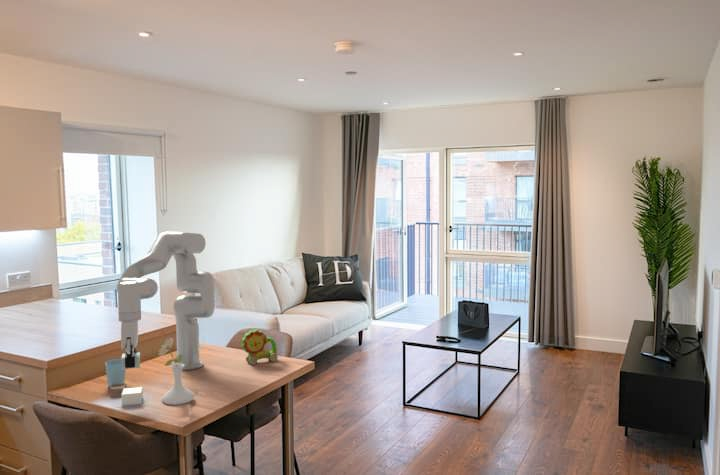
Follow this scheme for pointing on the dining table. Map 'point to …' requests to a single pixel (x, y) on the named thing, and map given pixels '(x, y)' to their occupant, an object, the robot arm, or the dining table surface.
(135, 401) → the cream brick
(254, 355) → the toy lion
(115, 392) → the walnut brick
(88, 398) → the dining table surface
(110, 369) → the cup
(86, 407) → the dining table surface
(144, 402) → the build plate
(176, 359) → the flower in vase
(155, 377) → the dining table surface
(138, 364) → the sage brick
